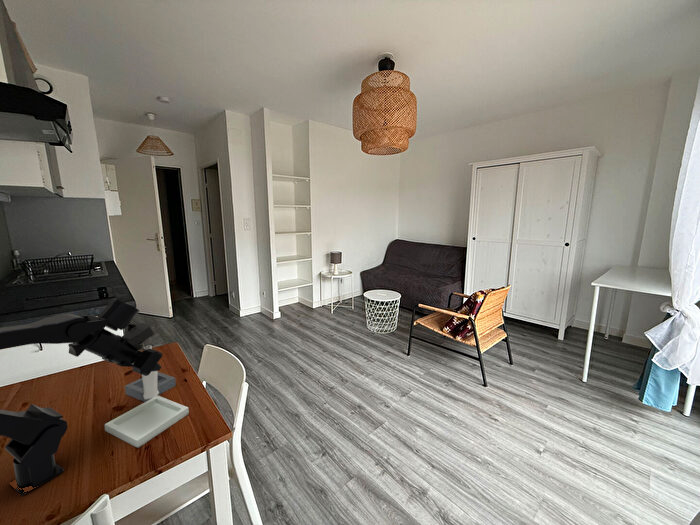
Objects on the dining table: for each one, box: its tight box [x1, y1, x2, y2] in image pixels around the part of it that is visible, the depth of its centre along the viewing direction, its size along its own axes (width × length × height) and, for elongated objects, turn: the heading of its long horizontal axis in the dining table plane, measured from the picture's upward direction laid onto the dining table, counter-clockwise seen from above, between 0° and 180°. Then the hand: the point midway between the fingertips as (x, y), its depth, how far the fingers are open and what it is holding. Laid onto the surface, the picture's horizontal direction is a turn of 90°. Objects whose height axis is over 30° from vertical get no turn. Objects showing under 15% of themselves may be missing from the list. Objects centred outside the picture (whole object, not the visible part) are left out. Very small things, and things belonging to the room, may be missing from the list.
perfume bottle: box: [141, 345, 159, 399], centre depth 81 cm, size 5×4×15 cm
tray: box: [104, 395, 190, 449], centre depth 79 cm, size 14×14×2 cm
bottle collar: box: [124, 371, 176, 403], centre depth 93 cm, size 10×10×3 cm
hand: (155, 367), depth 82 cm, fingers closed on perfume bottle, 4 cm apart
